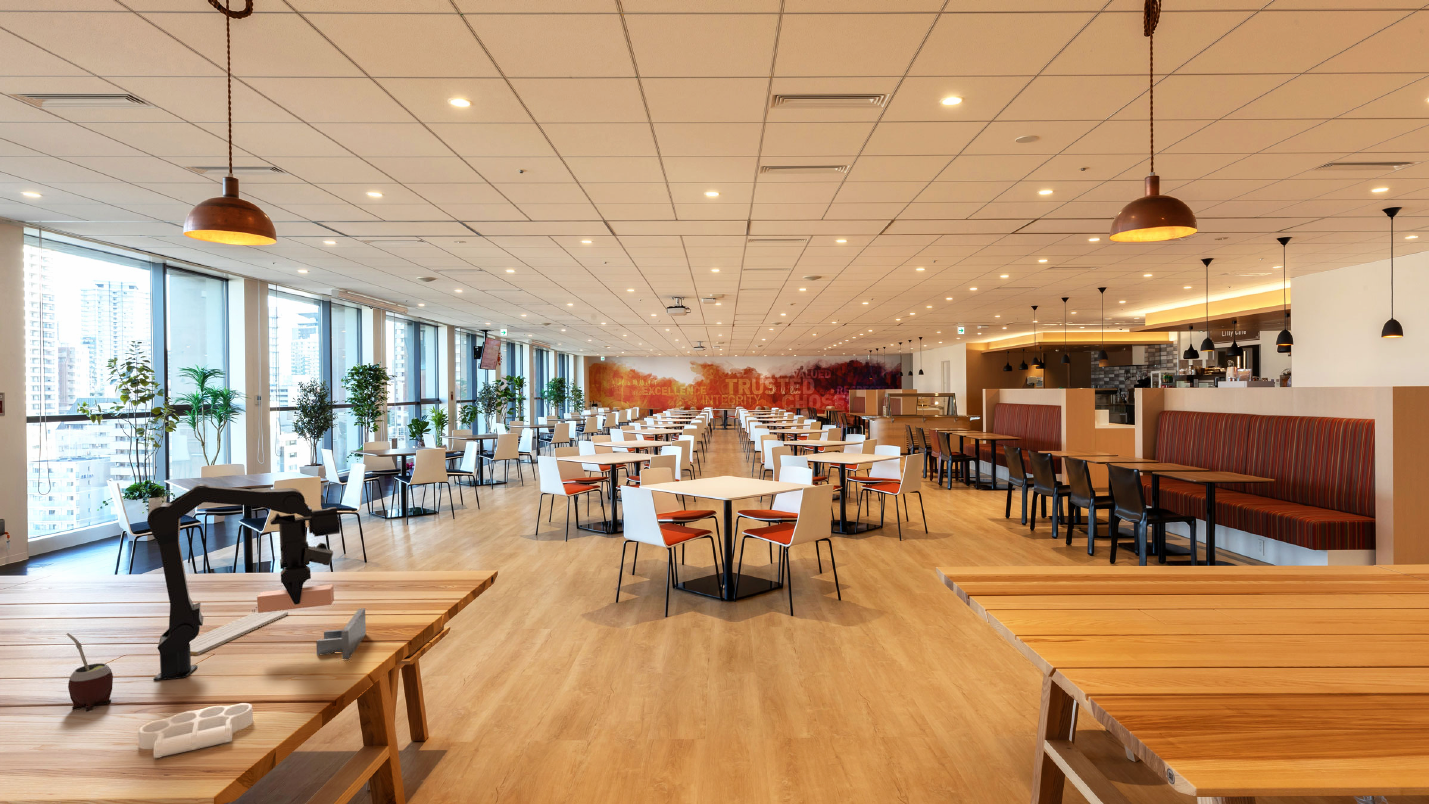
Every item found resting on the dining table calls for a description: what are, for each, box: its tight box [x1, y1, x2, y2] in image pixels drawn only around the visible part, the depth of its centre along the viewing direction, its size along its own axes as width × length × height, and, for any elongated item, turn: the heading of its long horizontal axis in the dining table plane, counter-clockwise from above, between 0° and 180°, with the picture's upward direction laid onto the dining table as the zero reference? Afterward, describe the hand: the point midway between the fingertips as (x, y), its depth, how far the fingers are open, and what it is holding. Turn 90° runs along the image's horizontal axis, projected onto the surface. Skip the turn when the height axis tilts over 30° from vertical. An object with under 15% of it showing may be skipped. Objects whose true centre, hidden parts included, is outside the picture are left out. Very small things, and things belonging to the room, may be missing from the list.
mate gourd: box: [65, 632, 114, 712], centre depth 153 cm, size 8×8×15 cm
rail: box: [256, 584, 335, 613], centre depth 182 cm, size 16×4×4 cm, turn 108°
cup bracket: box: [315, 607, 367, 660], centre depth 185 cm, size 18×8×7 cm, turn 14°
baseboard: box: [189, 606, 289, 656], centre depth 197 cm, size 31×3×12 cm
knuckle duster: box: [137, 702, 254, 759], centre depth 140 cm, size 3×18×15 cm
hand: (296, 601), depth 182 cm, fingers closed on rail, 4 cm apart
